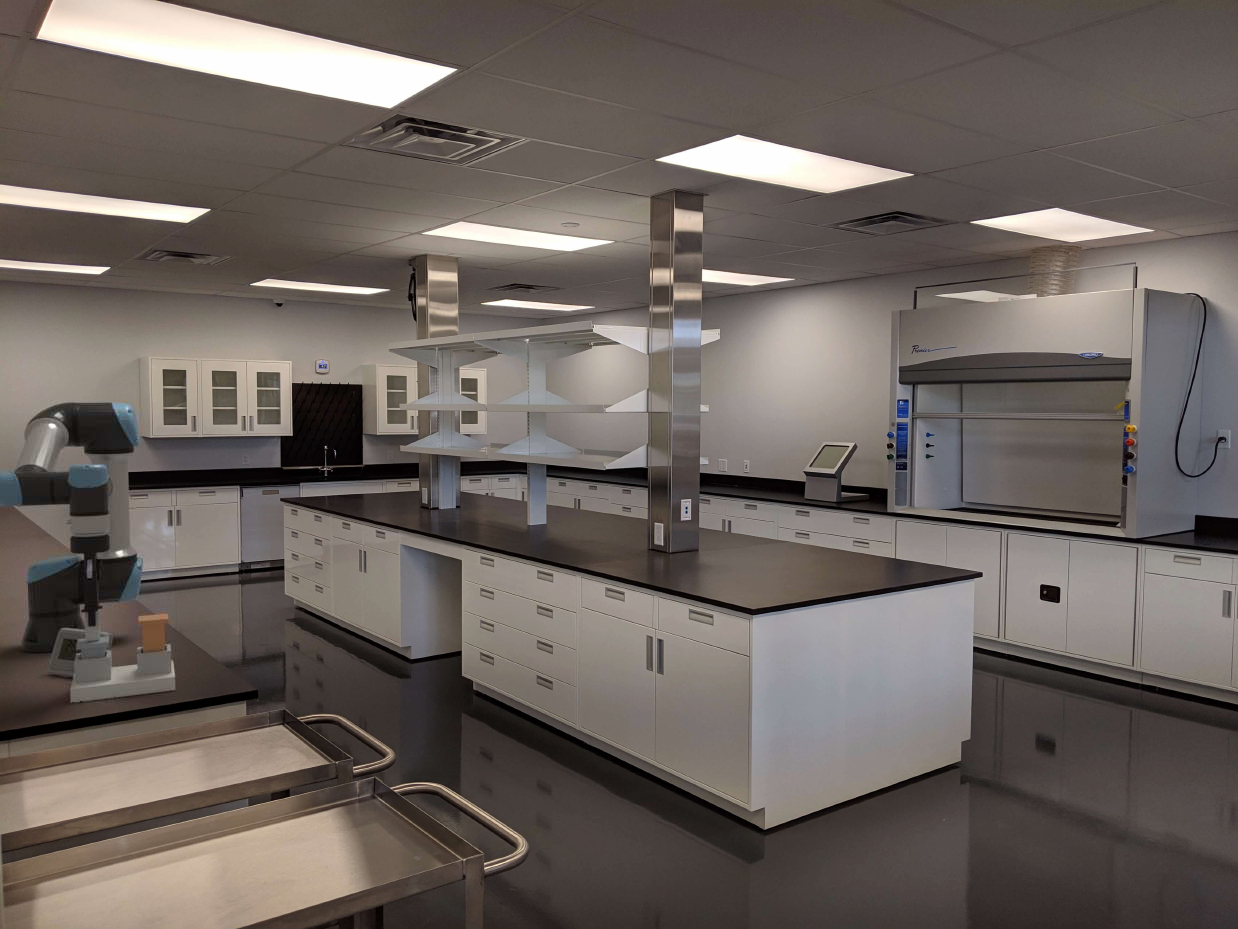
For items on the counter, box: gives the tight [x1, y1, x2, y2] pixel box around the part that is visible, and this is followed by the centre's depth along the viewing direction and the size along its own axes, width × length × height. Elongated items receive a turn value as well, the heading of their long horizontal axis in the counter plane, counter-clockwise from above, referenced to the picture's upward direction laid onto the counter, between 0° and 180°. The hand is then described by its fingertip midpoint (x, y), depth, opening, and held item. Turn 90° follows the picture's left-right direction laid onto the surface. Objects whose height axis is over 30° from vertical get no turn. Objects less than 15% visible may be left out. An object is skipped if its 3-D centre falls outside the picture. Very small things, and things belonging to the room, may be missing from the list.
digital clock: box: [47, 628, 114, 679], centre depth 211 cm, size 16×9×11 cm, turn 59°
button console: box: [69, 643, 176, 704], centre depth 202 cm, size 15×20×8 cm
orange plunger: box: [137, 613, 169, 653], centre depth 204 cm, size 6×6×8 cm
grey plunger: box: [76, 636, 109, 659], centre depth 199 cm, size 6×6×8 cm
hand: (92, 639), depth 199 cm, fingers closed
